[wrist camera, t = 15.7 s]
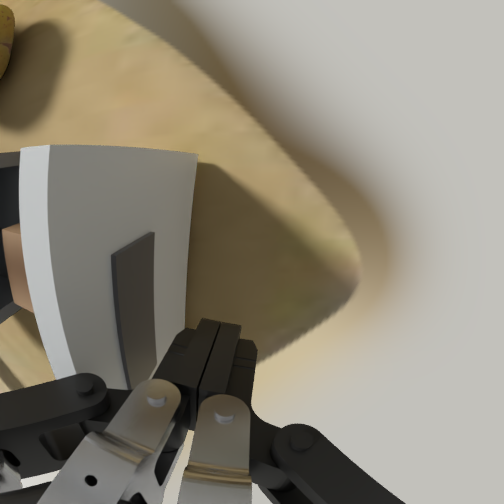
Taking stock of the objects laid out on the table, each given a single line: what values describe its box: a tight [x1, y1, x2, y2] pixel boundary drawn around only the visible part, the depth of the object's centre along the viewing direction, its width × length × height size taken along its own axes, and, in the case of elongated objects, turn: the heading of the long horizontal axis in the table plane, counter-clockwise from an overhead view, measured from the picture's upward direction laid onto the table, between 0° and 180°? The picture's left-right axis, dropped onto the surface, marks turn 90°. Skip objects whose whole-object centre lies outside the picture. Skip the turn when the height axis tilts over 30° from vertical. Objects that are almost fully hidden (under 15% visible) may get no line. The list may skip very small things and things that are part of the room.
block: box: [2, 223, 34, 313], centre depth 14 cm, size 5×5×5 cm
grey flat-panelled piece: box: [19, 145, 198, 390], centre depth 12 cm, size 14×15×11 cm
